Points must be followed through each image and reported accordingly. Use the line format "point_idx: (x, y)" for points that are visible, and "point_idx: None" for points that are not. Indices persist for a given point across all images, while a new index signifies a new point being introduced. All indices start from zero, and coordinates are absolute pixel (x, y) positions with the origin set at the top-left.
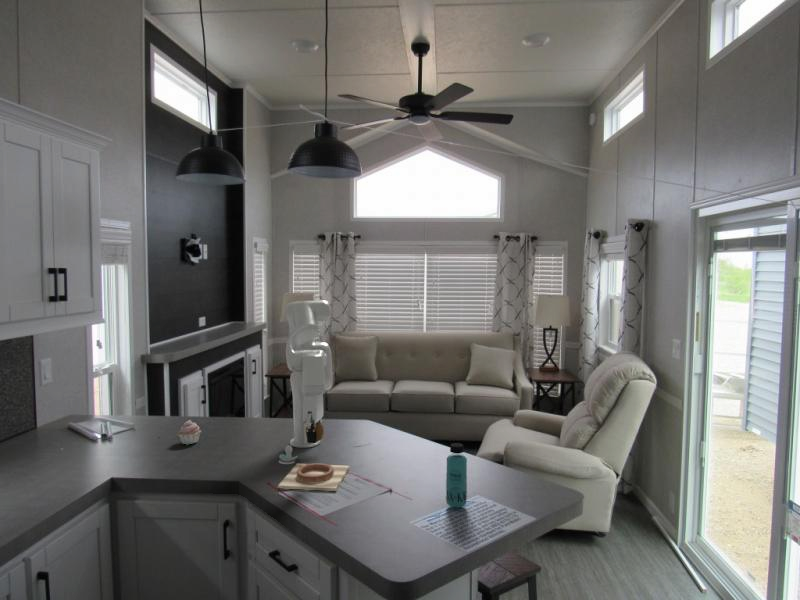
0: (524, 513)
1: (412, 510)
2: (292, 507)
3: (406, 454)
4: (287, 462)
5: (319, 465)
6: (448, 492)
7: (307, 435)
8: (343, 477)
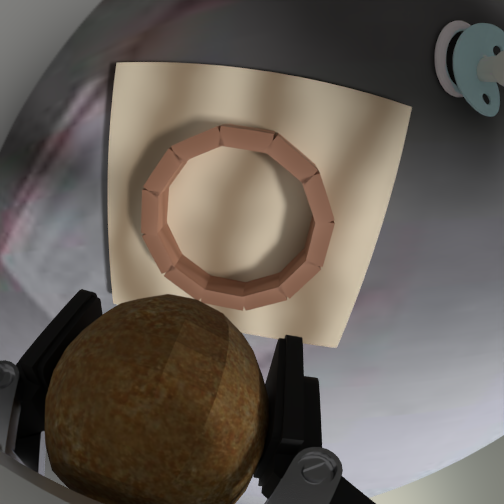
0: None
1: None
2: (9, 170)
3: (404, 447)
4: (444, 58)
5: (310, 240)
6: None
7: (46, 333)
8: None
